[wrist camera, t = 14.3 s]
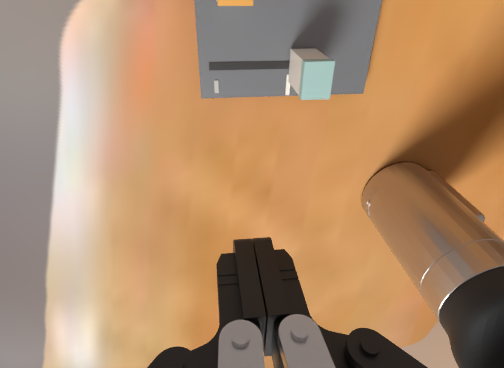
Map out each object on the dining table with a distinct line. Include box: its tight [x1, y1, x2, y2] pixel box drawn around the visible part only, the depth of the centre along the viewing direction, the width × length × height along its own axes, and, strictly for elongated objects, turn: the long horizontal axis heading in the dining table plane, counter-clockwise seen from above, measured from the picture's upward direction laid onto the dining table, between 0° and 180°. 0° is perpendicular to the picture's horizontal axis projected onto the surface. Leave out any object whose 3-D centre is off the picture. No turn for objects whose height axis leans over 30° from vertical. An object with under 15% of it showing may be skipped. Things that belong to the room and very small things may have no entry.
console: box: [195, 0, 382, 98], centre depth 30 cm, size 16×13×2 cm
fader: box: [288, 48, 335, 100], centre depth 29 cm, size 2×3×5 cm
